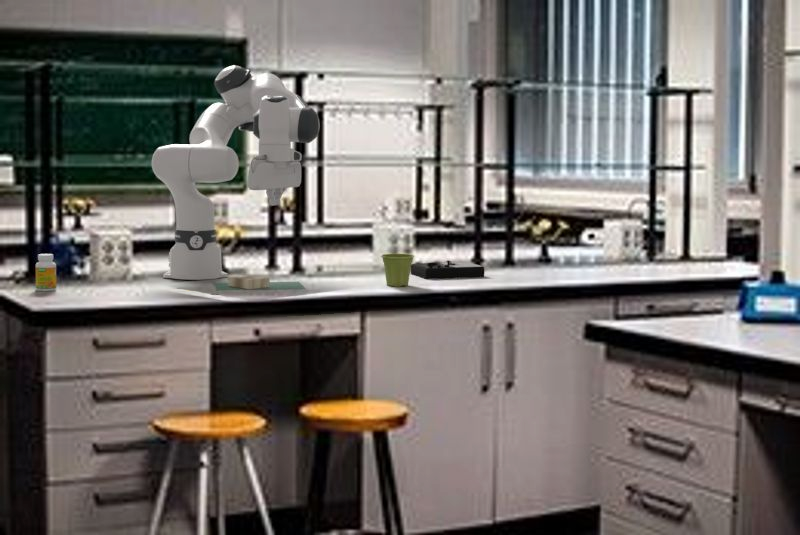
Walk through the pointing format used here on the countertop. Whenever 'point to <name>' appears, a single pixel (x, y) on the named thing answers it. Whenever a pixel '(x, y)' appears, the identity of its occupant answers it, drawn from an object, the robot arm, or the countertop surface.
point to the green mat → (271, 287)
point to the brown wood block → (248, 282)
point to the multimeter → (447, 270)
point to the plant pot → (397, 268)
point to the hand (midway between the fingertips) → (274, 205)
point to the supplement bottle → (45, 273)
